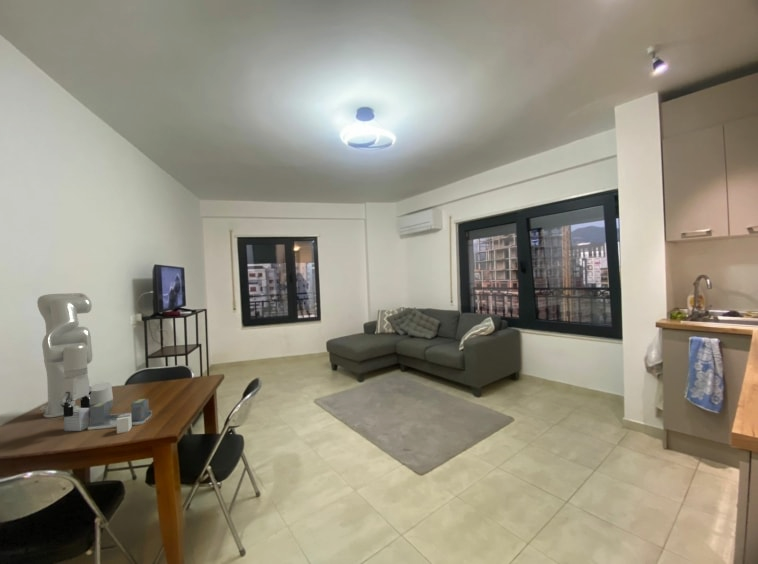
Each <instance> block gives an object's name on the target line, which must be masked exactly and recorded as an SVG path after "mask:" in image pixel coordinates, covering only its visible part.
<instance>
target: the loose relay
mask: <svg viewBox="0 0 758 564" xmlns="http://www.w3.org/2000/svg"><path fill="white" fill-rule="evenodd" d="M116 421H117V427H116V434H122V433H128V432H130V430H131V429H132V427H133V425H132V418H131V414H125V415H120V416H118V418H117V420H116Z"/></svg>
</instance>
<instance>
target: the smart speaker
mask: <svg viewBox="0 0 758 564" xmlns="http://www.w3.org/2000/svg"><path fill="white" fill-rule="evenodd" d="M90 387H92V390H91V394H90V398H89V399H90V407H92V406H93V405H95V404H99V403H104V402H106V403H109V404H110V411H111V410H112V409H113V407H114V395H113V388H112V383H111V382H108V381H105V382H104V381H103V382H99V383H94V385H90ZM90 407H89V414H90Z"/></svg>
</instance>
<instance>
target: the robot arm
mask: <svg viewBox="0 0 758 564" xmlns="http://www.w3.org/2000/svg"><path fill="white" fill-rule="evenodd" d="M36 303H37V308H38V311H39V313H40V315H41V316H42V318H43V321H44V324H45V332H46V334H45V336H43V339H42V343H41V345H42V346H41V347H42V354H43V361H44V368H45V371H46V378H47V379H46V380H47V382H46V383H47V405H41V407H40V408H39V412H44V414H43V417H44V418H47V419H49V418H56V417H57V418H58V417H61V416H63V418H64V417H69V416H73V408H89V407H90V399H89V398H90V394H91V390H92V387H91V385H90V380H89V376H88V365H89V364H90V363H91V362H92V361H93V349H92V348H93V347H92V339H91V332H90V330H89V328H88V327H85V326H79V325H80V324H79V323H80V322H79V319H78V315H79V314H88V313H90V312H91V310H92V308H93V305H92V302H91V299H90V297H88V295H86V294H85V293H82V292H80V293H79V292H78V293H77V292H76V293H74V292H73V293H50V294H44V295H41V296H39V297H38V299H37V302H36ZM78 400H80V405H76V401H78Z"/></svg>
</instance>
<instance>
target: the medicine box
mask: <svg viewBox="0 0 758 564" xmlns="http://www.w3.org/2000/svg"><path fill="white" fill-rule="evenodd" d="M63 424H64V425H63V426H64V427H63V428H64V432H81V431H84V430H86V429H88V427H89V426H91V419H90V413H89V408H81V407H79V408H73V416H69V417H64V416H63Z"/></svg>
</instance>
